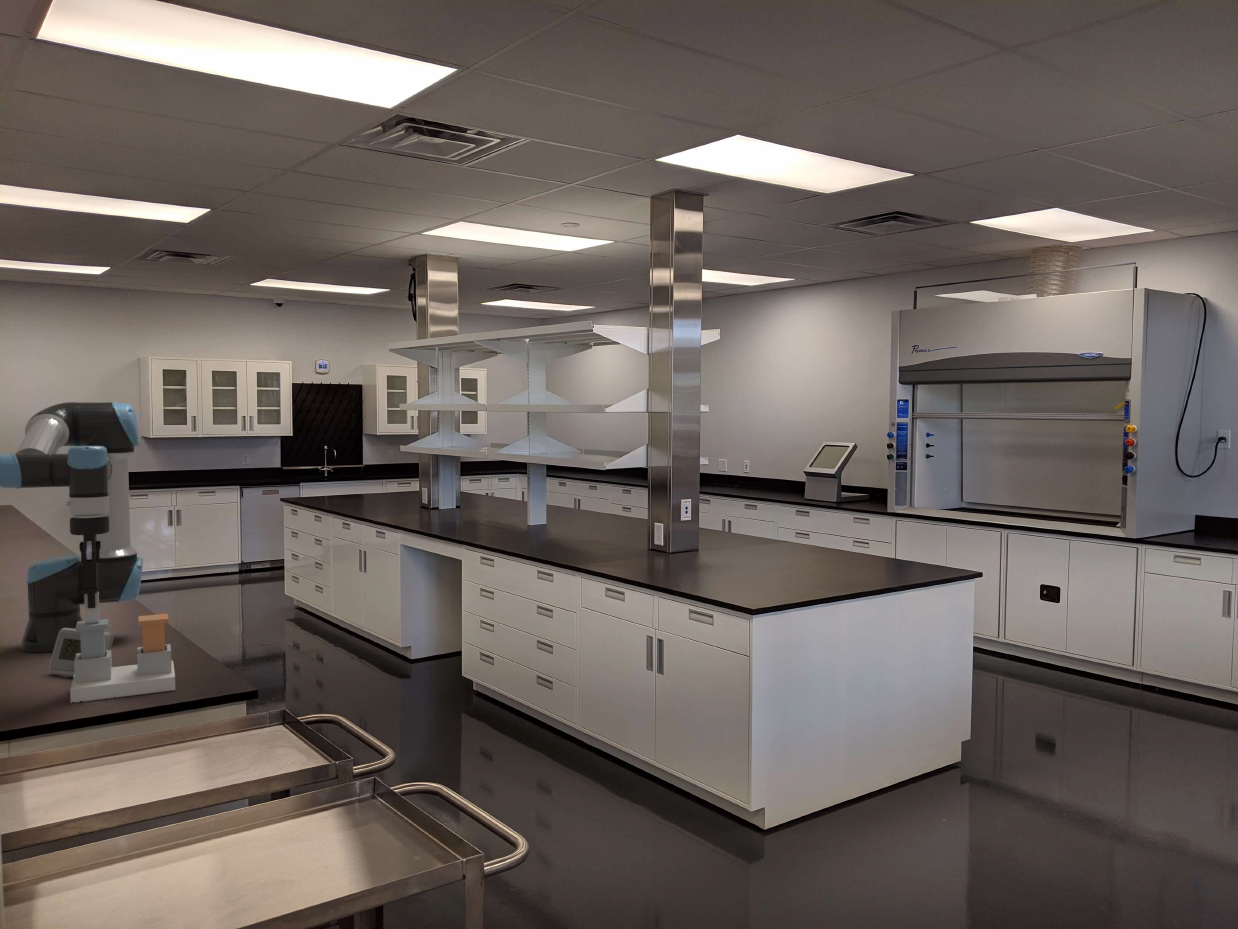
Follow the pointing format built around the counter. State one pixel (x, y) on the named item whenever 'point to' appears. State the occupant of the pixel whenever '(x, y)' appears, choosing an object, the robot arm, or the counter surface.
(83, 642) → the grey plunger
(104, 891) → the counter surface
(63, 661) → the digital clock
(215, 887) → the counter surface
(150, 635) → the orange plunger
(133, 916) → the counter surface
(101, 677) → the button console
